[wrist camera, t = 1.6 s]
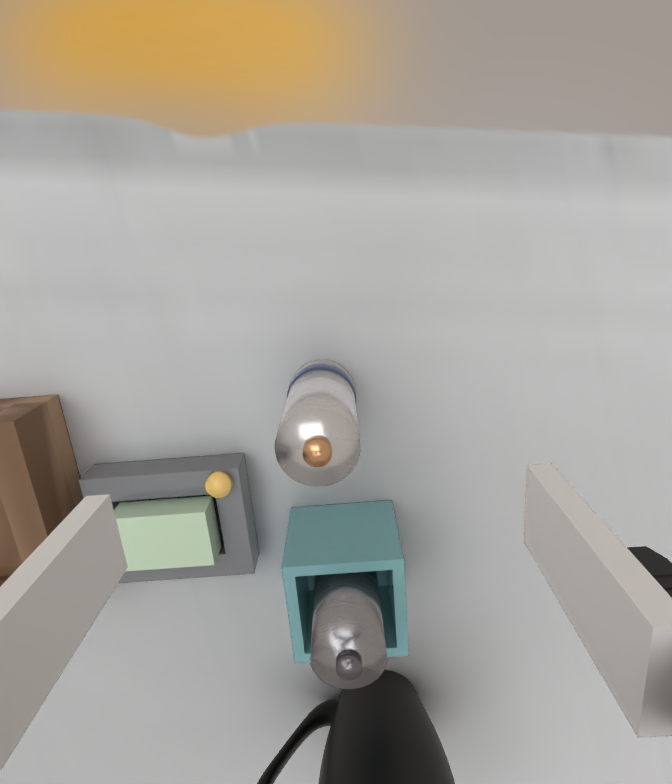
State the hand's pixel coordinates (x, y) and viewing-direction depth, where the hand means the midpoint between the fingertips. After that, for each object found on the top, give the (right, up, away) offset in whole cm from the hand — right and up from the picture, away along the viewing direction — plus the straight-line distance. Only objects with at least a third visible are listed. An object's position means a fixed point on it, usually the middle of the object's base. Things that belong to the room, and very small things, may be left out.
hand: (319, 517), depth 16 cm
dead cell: (+1, -6, +15) cm, 16 cm away
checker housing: (-9, -3, +15) cm, 18 cm away
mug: (+2, -18, +20) cm, 27 cm away
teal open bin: (+1, -6, +16) cm, 17 cm away
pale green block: (-9, -4, +14) cm, 17 cm away
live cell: (0, +4, +13) cm, 14 cm away
